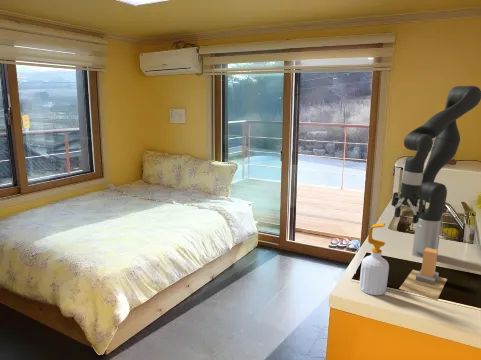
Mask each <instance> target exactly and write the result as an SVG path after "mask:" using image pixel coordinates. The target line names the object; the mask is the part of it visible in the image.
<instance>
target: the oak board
mask: <svg viewBox="0 0 481 360" xmlns="http://www.w3.org/2000/svg"><path fill="white" fill-rule="evenodd" d="M419 271H420V270H415V269H412V270H411V272H410V273H409V274H408V275H407V277H406V278H405V280H404V282H403V283H402V284H401V285H400V287H399V288H398V289H399V290H402V291H404V292H405V291H406V292H409V293H412V294H416V295H419V296H420V297H421V296H422V297H425V298H428V299H430V300H435V301H438V299H439V297H440V295H441V293H442V291H443V290H444V286H445V285H446V283H447V281H448V278H445V277H441V276H438V278H437V280H436V282H435V284H434V285H431V284H427V283H424V282H420V281H417V280H416V276H417V274H418V273H419Z"/></svg>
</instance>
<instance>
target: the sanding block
mask: <svg viewBox="0 0 481 360" xmlns="http://www.w3.org/2000/svg"><path fill="white" fill-rule="evenodd" d="M438 253H439V249H438V250H435V249H431V248H426V249H425V250H424V254H423V258H422V260H421V261H422V263H421V269H420V270H418V271H419V273H418V274H417V276H416V280H417V281H420V282H424V283H427V284H431V285H434V284H435V282H436V280H437V278H438V277H439V272H437V271H436V269H437V268H436V266H437V261H438V260H437V259H438V256H439V255H438Z"/></svg>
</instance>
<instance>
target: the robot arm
mask: <svg viewBox="0 0 481 360" xmlns="http://www.w3.org/2000/svg"><path fill="white" fill-rule="evenodd" d="M480 101H481V88H480V87H478V86H476V85H475V86H474V85H459V86H458V85H457V86H453V87H452V88H451V89H450V90H449V93H448V95H447V98H446V102H445V106H444V109H443V110H441V111H439V112H437V113H435V114H434V115H432V116H431V117H430V118H429V119H428V120H427V121H426V122H424V124H423V125H420V126H418V127H416V128H415V129H413V130H412V131H410V132H409V133H408V134H406V136H405V137H404V139H403V146H404V148H405V149H407V150H409V151H415V153H416V154H415V155H413V156H412V155H411V156H407V157H406V158H405V163H404V170H403V174H402V178H401V183H400V184H401V185H400V192H399V191H396V192H393V196H392V201H391V207H394V208H395V209H394V217H396V218H400V217H401V210H402V207H403V206H404V207H408V208H410V210H412V212H413V216H412V221H411V223H412V224H414V225H415V229H414V235H413V236H414V237H413V244H412V251H411V253H412V256H414V257H417V258H421V259H423V254H424V250H425V249H426V248H431V249H435V250H438V251H439V243H440V235H439V233H440V227H441V221H442V216H443V214H444V211H445V207H446V206H445V205H446V202H447V196H448V189H447V186H446V185H445V184H443V183H441V182H436V181H435V179H436V178H437V175H438V174H439V172H440V171H441V170H442V169H443V168H444V167H445V166H447V164H448V163H450V162H451V160H453V158H454V157H455V156H456V154H457V152H458V149H459V145H460V143H461V135H460V131H459V129H458V125H457V120H458V119H459V118H460V117H463V116H464V115H465V114H467V113H468V112H470V111H471V110H473V109H475V108H476V107H477V106H478V105H479V103H480ZM433 139H434V141H433ZM428 156H429V158H428ZM426 161H427V163H426ZM425 163H426V166H425ZM399 199H400V200H399ZM428 203H429V204H428ZM426 204H428V208H426V206H427V205H426Z"/></svg>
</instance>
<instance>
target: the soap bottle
mask: <svg viewBox="0 0 481 360" xmlns="http://www.w3.org/2000/svg"><path fill="white" fill-rule="evenodd" d="M385 226H386V223H385V222H380V223H374V224H372V225H371V226H370V228H369V230H368V238H367V242H368V243H369V244H370V245H373V247H374V248H372V249H371V252H370V255H367V256H365V257H363V258H362V260H361V266H360V276H359V286H358V287H359V290H361V291H362V292H364V293H365V294H368V295H371V296H382V295H385V294H386V293H387V286H388V277H389V272H390V271H389V270H390V265H389V262H388V261H387V260H386V259H385V258H383V257H382V253H383V251H382V249H380V248H381V247H384V246H385V245H386V242H385V241H382V240H377V239H374V238H373V229H376V228H377V229H378V228H384V227H385Z"/></svg>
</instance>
